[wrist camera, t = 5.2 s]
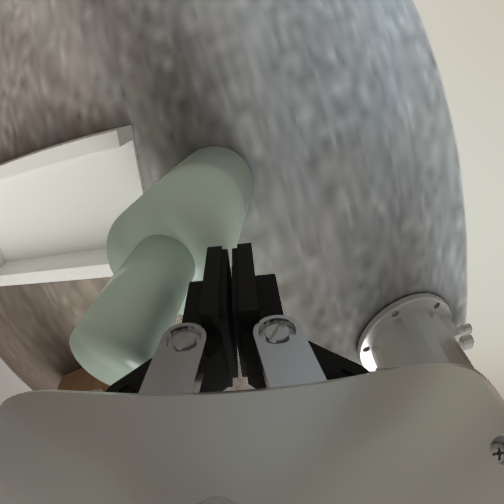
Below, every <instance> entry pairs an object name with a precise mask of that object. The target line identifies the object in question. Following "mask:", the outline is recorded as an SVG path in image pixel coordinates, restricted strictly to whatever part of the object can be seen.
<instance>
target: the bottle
mask: <svg viewBox="0 0 504 504" xmlns="http://www.w3.org/2000/svg"><path fill="white" fill-rule="evenodd" d="M252 192H253V176H252V172H251V170H250V168H249V166H248V164H247V163H246V161H245V160H244V159H243V158H242V157H241V156H240V155H239V154H237V153H236V152H234V151H232V150H230V149H228V148H225V147H220V146H209V147H204V148H201V149H199V150H196V151H195V152H193V153H192V154H191V155H189V156H188V157H187V158H186V159H184V160H183V161H182V162H181V163H179V164H178V165H177V166H176V167H174V168H173V169H172V170H171V171H170V172H168V173H167V174H166V175H165V176H164V177H162V178H161V179H160V180H159V181H158V182H156V183H155V184H154V185H153V186H152V187H151V188H149V189H148V190H147V191H146V192H145V193H144V194H143V195H141V196H140V197H139V198H138V199H137V200H136V201H135V202H134V203H132V204H131V205H130V206H129V207H128V208H127V209H126V210H125V211H124V212H123V213H121V214H120V216H119V217H118V218H117V219H116V220H115V221H114V223H113V224H112V226H111V228H110V231H109V234H108V237H107V244H106V249H107V258H108V262H109V266H110V268H111V270H112V273H113V276H112V278H111V279H110V280H109V282H108V283H107V284H106V286H105V287H104V288H103V290H102V291H101V292H100V294H99V295H98V296H97V298H96V299H95V301H94V302H93V303H92V305H91V306H90V307H89V309H88V310H87V312H86V313H85V314H84V316H83V317H82V319H81V320H80V322H79V323H78V324H77V326H76V327H75V329H74V330H73V332H72V333H71V335H70V338H69V344H70V348H71V351H72V353H73V355H74V357H75V358H76V360H77V361H78V362H79V364H80V365H81V366H82V367H83V368H84V369H85V370H86V371H87V372H88V373H90V374H91V375H92V376H94V377H95V378H97V379H98V380H100V381H102V382H104V383H106V384H108V385H110V386H111V385H112V384H113V383H115V382H116V381H118V380H119V379H121V378H122V377H124V376H125V375H127V374H128V373H130V372H131V371H133V370H134V369H136V368H137V367H139V366H140V365H142V364H143V363H145V362H146V361H148V360H149V359H151V358H152V357H153V356H154V354H155V351H156V349H157V346H158V344H159V342H160V339H161V337H162V335H163V334H164V332H165V331H167V330H168V329H169V328H170V327H172V326H173V325H174V323H175V320H176V318H177V315H183V314H184V308H185V303H186V297H187V292H188V286H189V283H190V282H194V281H203V276H204V268H205V261H206V253H207V247H214V246H222V249H228V254H229V262H230V269H231V266H232V248H237V244H238V241H239V238H240V234H241V231H242V227H243V224H244V220H245V217H246V213H247V210H248V206H249V203H250V199H251V196H252Z"/></svg>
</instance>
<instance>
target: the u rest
mask: <svg viewBox="0 0 504 504" xmlns="http://www.w3.org/2000/svg"><path fill="white" fill-rule="evenodd" d="M143 194H144V189H143V184H142V179H141V174H140V169H139V164H138V158H137V153H136V147H135V142H134V136H133V130H132V125H127V126H123V127H119V128H114V129H110V130H106V131H102V132H98V133H94V134H90V135H87V136H83V137H79V138H76V139H72V140H69V141H65V142H62V143H59V144H55V145H52V146H49V147H46V148H43V149H40V150H37V151H34V152H31V153H28V154H25V155H22V156H20V157H17V158H14V159H12V160H9V161H6V162H4V163H1V164H0V286H8V285H21V284H32V283H44V282H56V281H67V280H79V279H90V278H101V277H112V276H113V273H112V270H111V268H110V266H109V262H108V258H107V249H106V244H107V237H108V234H109V231H110V228H111V226H112V224H113V223H114V221H115V220H116V219H117V218H118V217H119V216H120V214H121V213H123V212H124V211H125V210H126V209H127V208H128V207H129V206H130V205H131V204H132V203H134V202H135V201H136V200H137V199H138V198H139V197H140V196H141V195H143Z"/></svg>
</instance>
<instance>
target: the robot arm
mask: <svg viewBox="0 0 504 504" xmlns="http://www.w3.org/2000/svg"><path fill="white" fill-rule="evenodd" d="M471 332H472V327H471V325H470V324H465V325H461V326H459V327H456V326H454V324H453V323H452V322H451V311H450V308H449V307H448V305H447V304H446V302H445V301H444V300H443V299H442V298H441V297H439V296H437V295H434V294H430V293H419V294H413V295H410V296H407V297H404V298H401V299H399V300H397V301H395V302H393V303H392V304H390V305H389V306H387V307H386V308H384V309H383V310H382V311H381V312H379V313H378V314H377V315H376V316H375V317H374V318H373V319H372V320H371V321H370V322H369V324H368V325H367V326H366V328H365V329H364V331H363V332H362V335H361V337H360V339H359V343H358V347H357V349H358V356H359V359H360V362H361V364H362V366H361V365H359V364H357V363H355V362H353V361H350V360H348V359H346V358H344V357H342V356H340V355H337V354H335V353H333V352H331V351H329V350H327V349H325V348H322V347H320V346H318V345H316V344H314V343H312V342H310V341H308V340H307V338H306V336H305V334H304V332H303V330H302V328H301V326H300V324H299V323H298V322H297V321H296V320H295V319H293V318H292V317H289V316H286V315H283V311H282V306H281V301H280V296H279V291H278V286H277V282H276V277H275V274H268V275H258V276H255V272H254V263H253V254H252V246H251V243H244V244H237V248H232V276H231V269H230V262H229V254H228V249H222V246H214V247H207V253H206V261H205V268H204V276H203V281H194V282H190V283H189V286H188V292H187V297H186V303H185V308H184V314H183V320H182V323H180V324H177V325H174V326H172V327H170V328H169V329H168V330H167V331H165V332H164V334H163V335H162V337H161V339H160V342H159V344H158V346H157V349H156V351H155V354H154V356H153V357H152V358H151V359H149V360H148V361H146V362H145V363H143V364H142V365H140V366H139V367H137V368H136V369H134V370H133V371H131V372H130V373H128V374H127V375H125V376H124V377H122V378H121V379H119V380H118V381H116V382H115V383H113V384H112V385H111V386H110V387H109V388H108V389H107V390H106V391H105V392H103V391H102V390H101V389H96V390H89V391H74V390H35V391H28V392H24V393H21V394H17V395H15V396H12V397H10V398H8V399H6V400H5V401H4V402H2V403H1V405H0V504H504V400H503V399H502V397H501V396H500V394H499V393H498V391H497V390H496V389H495V387H494V386H493V385H492V384H491V382H490V381H489V380H488V379H487V378H486V377H485V376H484V375H483V374H481V373H480V372H479V371H477V370H476V369H474V367H473V365H472V364H471V362H470V360H469V359H468V357H467V356H466V354H465V353H464V350H467V349H470V348H472V347H473V343H474V340H473V337H472V335H470V334H471ZM460 336H461V337H460ZM237 346H238V352H239V358H240V364H241V370H242V376H243V377H248V384H250V385H251V386H253V387H254V388H256V389H249V390H236V391H223V390H225V389H226V388H227V387H233V381H232V378H236V377H238V359H237Z"/></svg>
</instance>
